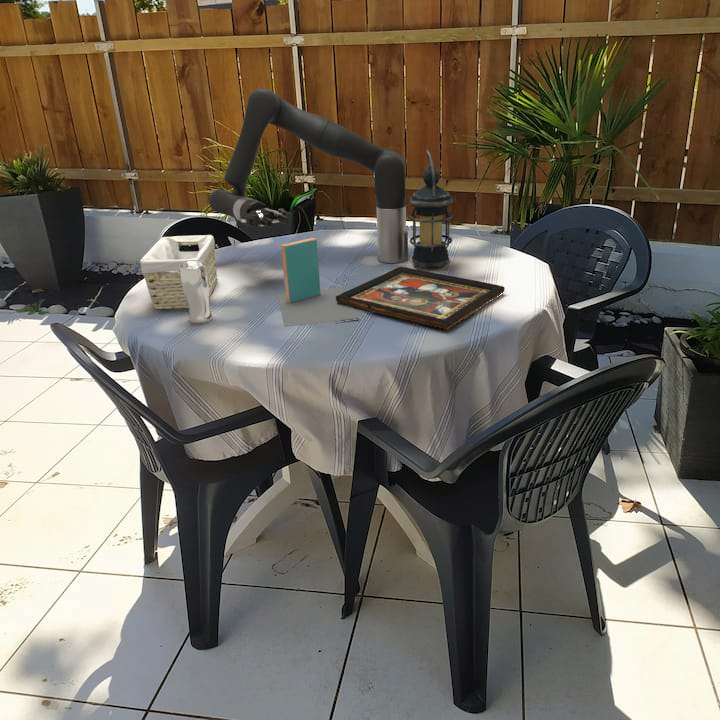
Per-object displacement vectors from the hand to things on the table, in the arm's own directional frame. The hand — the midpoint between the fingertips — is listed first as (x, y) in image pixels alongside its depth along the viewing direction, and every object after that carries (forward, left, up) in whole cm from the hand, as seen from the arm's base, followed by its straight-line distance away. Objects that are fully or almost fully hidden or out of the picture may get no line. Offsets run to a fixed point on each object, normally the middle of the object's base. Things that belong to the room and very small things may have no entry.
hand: (279, 222), depth 181 cm
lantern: (-46, -10, -20) cm, 51 cm away
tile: (-4, +9, -19) cm, 22 cm away
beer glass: (+24, +15, -20) cm, 35 cm away
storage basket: (+28, -5, -20) cm, 35 cm away
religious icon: (-35, +18, -20) cm, 45 cm away
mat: (-7, +16, -20) cm, 26 cm away
